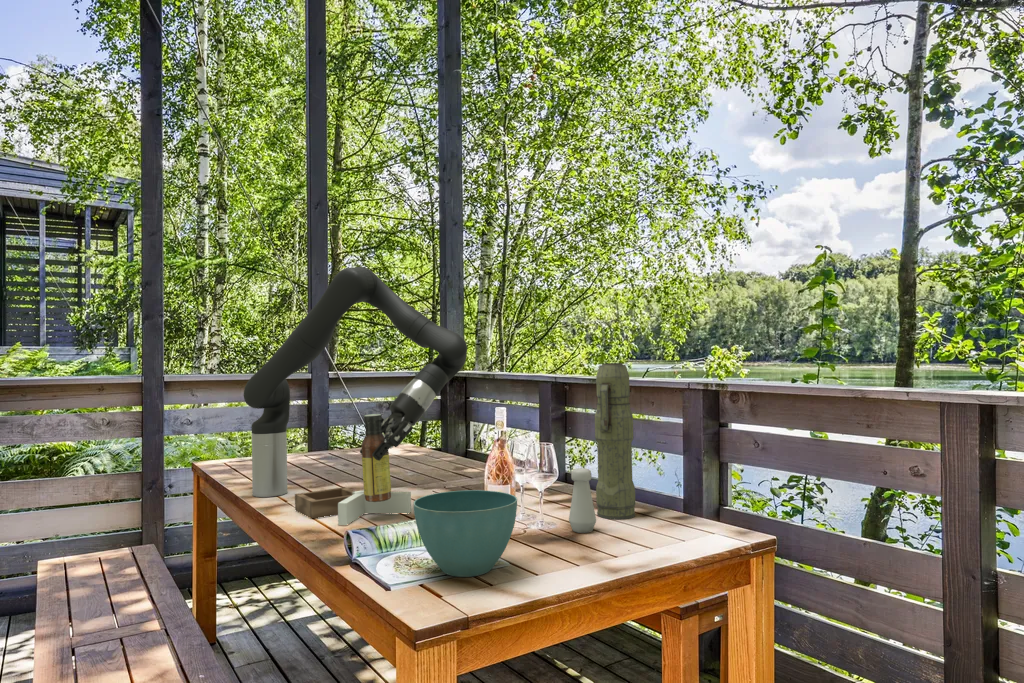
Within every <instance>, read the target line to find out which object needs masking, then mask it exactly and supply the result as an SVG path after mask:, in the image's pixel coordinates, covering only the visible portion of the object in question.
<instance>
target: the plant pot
mask: <svg viewBox="0 0 1024 683" xmlns="http://www.w3.org/2000/svg"><path fill="white" fill-rule="evenodd" d="M412 504H413V505H412V506H413V512H414V513H413V515H414V519H415V524H416V527H417V531H418V534H419V537H420V540H421V541H422V544H423V546H424V548H425V551H427V553H428V554H429V556H430V557H431V559H432V560H433V562H434V563H435V564H436V565H437V567H439V569H440V570H441V571H442V572H443V573H444V574H446V575H448V576H451V577H457V578H469V577H470V578H471V577H478V576H481V575H484V574H487V573H488V572H490V571H491V570H493V568H494V566H495V565H496V564H497V563H498V561H499V559H500V558H501V557H502V555H503V553H504V552H505V550H506V548H507V546H508V544H509V542H510V540H511V539H510V538H511V537H512V535H513V531H514V527H515V522H516V517H517V510H518V498H517V497H516V495H513V494H510V493H507V492H502V491H495V490H494V491H493V490H483V489H482V490H481V489H480V490H479V489H477V490H476V489H474V490H473V489H472V490H471V489H468V490H467V489H466V490H454V491H453V490H451V491H450V490H449V491H443V492H442V491H441V492H436V493H431V494H427V495H424V496H421V497H419V498H418V497H417V499H415V500H414V501H413V503H412Z"/></svg>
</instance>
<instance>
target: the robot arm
mask: <svg viewBox="0 0 1024 683" xmlns="http://www.w3.org/2000/svg"><path fill="white" fill-rule="evenodd" d="M364 302H365V303H367V304H369V305H371V306H373V307H375V308H376V309H378V310H379V311H381V312H382V313H383V314H384V315H385V316H387V318H388V320H389V321H390V322H391V323H392V324H393V326H394V327H395V328H396V329H397V330H398V331H399V332H400V333H401V334H402V335H404V336H405V337H406V338H408V339H409V340H410V341H412V342H413V343H414V344H416V345H417V346H419V347H421V348H423V349H428V348H430V349H433V350H434V351H436V353H438V355H437V356H436V357H435V359H433V361H432V362H431V363H427V364H425V365H424V366H422V368H421V369H420V370H419V372H418V373H417V374H416V375H415V376H414V378H412V380H411V381H410V382H408V383H407V384H406V386H405V387H404V388H403V389H402V390H401V392H399V393H398V395H397V397H396V398H395V399H394V400H393V401H392V403H391V404H390V405H389V410H390V413H391V414H389V415H388V416H387V417H386V418H384V417H382V421H381V426H382V434H383V436H384V440H383V442H384V443H382V442H381V444H380V445H379V446H378V447H377V449H376V450H375V451H374V452H373V454H372V456H373V457H374V458H375V459H376V460H381V458H382V457H383V456H384V455H385V453H386V452H387V451H388V452H389V450H390V449H392V448H398V446H399V445H400V444H401V443H402V442H403V441H404V439H405V438H406V437H407V436H408V435H409V434H410V433H411V431H412V430H413V429H414V428H413V427H414V426H416V424H417V423H418V421H419V420H420V419H421V418H422V416H423V415H424V414H425V413H426V411H427V410H428V409H429V407H430V406H431V405H432V403H433V402H434V400H435V398H436V397H437V396H438V395H439V393H440V392H441V391H442V390H443V388H444V387H445V385H446V384H447V383H448V382H449V381H450V380H451V379H452V378H454V377H455V376H456V375H457V374H458V373H459V372H461V369H462V368H463V366H464V365H465V364H466V360H467V354H468V345H467V342H466V340H465V339H464V338H463V337H462V336H461V335H459V334H458V333H457V332H456V331H455V332H454V331H453V330H451V329H448V328H446V327H444V326H441V325H438V324H437V323H435V322H434V321H433V320H431V319H430V318H428V317H427V316H425V315H424V314H422V313H421V312H420V311H418V310H417V309H416V308H414V307H412V306H411V305H410V304H408V303H407V302H406V301H405V300H403V298H401V297H400V296H399V295H397V294H396V292H394V291H393V290H392V289H391V288H390V287H389V286H388V285H387V284H386V283H385V282H384V281H383V280H382V279H381V278H380V277H379V275H377V274H376V273H375V272H374V271H372V270H371V269H369V268H367V267H366V266H365V267H364V266H354V267H346V268H343V269H341V270H340V271H338V272H337V274H336V275H335V276H334V277H333V279H332V280H331V282H330V284H329V285H328V286H327V288H326V289H325V291H324V293H323V295H322V296H321V297H320V299H319V300H318V302H317V303H316V304H315V305H314V306H313V307H312V309H310V310H309V312H308V313H307V314H306V315H305V316H304V318H303V319H302V320H301V321H300V323H299V324H297V325H296V327H295V328H294V330H292V332H291V333H290V335H289V336H288V337H287V339H286V340H285V341H284V342H283V343H282V344H281V345H280V346H279V348H278V349H277V350H276V352H274V354H273V355H272V356H271V358H270V359H268V361H267V362H266V363H265V364H264V365H262V367H260V368H259V369H258V370H257V371H256V372H255V373H254V374H253V375H252V376H251V377H250V378H249V379H248V381H247V382H246V384H245V386H244V389H243V400H244V401H245V404H246V405H247V406H249V407H251V408H252V409H262V410H263V412H262V414H261V416H260V417H259V418H258V419H256V420H255V421H253V422H252V424H251V478H252V479H251V480H252V481H251V482H252V485H251V486H252V496H253V497H257V498H266V497H267V498H269V497H271V498H272V497H278V496H282V495H286V494H287V493H288V451H287V450H288V447H287V446H288V444H287V426H288V423H289V420H290V411H291V410H290V405H291V389H290V385H289V382H288V380H287V378H289V377H290V376H291V375H293V374H295V373H296V372H298V371H300V370H301V369H303V368H305V367H306V366H308V365H309V364H310V363H312V362H314V360H316V359H317V358H318V356H319V355H320V354H322V352H323V351H324V349H326V348H327V346H328V345H329V343H330V342H331V340H332V339H333V338H332V337H333V335H334V333H335V332H334V331H335V329H336V326H337V324H338V322H339V321H340V319H341V318H342V316H343V315H344V314H346V312H347V311H348V310H349V309H351V307H352V306H354V305H355V304H358V303H364ZM359 453H360V454H361V455H362V449H360V450H359Z"/></svg>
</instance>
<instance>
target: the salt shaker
mask: <svg viewBox="0 0 1024 683" xmlns="http://www.w3.org/2000/svg"><path fill="white" fill-rule="evenodd" d="M570 474H571V475H570V476H571V477H570V478H571V480H572V481H573V486H572V487H573V488H572V496H571V503H570V509H569V516H568V522H569V524H570V527H571V529H572V532H576V533H579V534H580V533H581V534H584V533H585V534H588V533H591V532H593V531H594V528H595V526H596V523H597V516H596V511H595V506H594V502H593V497H592V491H591V486H590V481H591V480H592V472H591V470H590V469H589V468H583V467H578V468H577V467H576V468H574V469H572V470H571V473H570Z"/></svg>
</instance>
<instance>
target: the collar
mask: <svg viewBox="0 0 1024 683" xmlns="http://www.w3.org/2000/svg"><path fill="white" fill-rule="evenodd" d="M355 491H356V490H354V489H351V488H348V487H345V486H344V487H336V488H329V489H323V490H317V491H308V492H302V493H296V494H295V493H294V511H295V510H296V511H295V512H297V511H298V512H297V513H299V512H300V513H299V514H301V513H302V514H301V515H303V514H304V515H303V516H305V515H306V516H305V517H307V516H308V518H309V517H311V518H317V519H319V518H318V517H323V518H325V517H324V516H329V517H331V516H330V515H335V516H338V503H339V502H341V501H343V500H345V499H346V498H348V497H350V496H352V492H355ZM311 518H310V519H311Z"/></svg>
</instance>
